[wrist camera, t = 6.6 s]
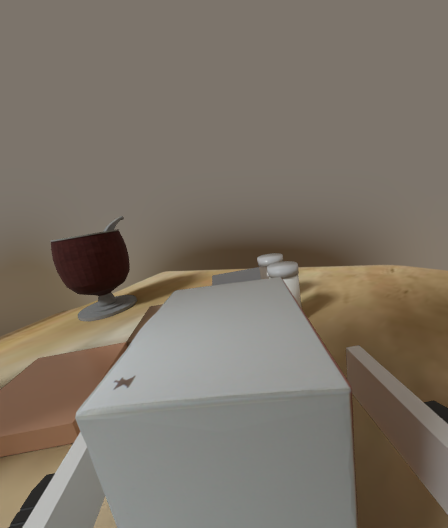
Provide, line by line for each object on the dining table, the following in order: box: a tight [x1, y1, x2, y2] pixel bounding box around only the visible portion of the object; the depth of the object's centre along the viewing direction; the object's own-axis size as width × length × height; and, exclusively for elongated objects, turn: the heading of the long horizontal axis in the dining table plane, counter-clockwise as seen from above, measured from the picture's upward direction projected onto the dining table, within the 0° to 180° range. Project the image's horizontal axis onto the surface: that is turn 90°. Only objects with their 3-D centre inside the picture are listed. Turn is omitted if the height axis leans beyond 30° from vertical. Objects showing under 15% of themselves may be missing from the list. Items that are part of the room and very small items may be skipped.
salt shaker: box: [267, 262, 302, 308], centre depth 32 cm, size 4×4×8 cm
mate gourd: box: [51, 216, 137, 321], centre depth 50 cm, size 16×14×20 cm
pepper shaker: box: [258, 254, 283, 279], centre depth 39 cm, size 4×4×8 cm
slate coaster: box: [212, 267, 261, 286], centre depth 50 cm, size 12×12×2 cm
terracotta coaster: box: [0, 342, 128, 457], centre depth 24 cm, size 12×12×2 cm
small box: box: [75, 277, 358, 528], centre depth 10 cm, size 8×6×13 cm
